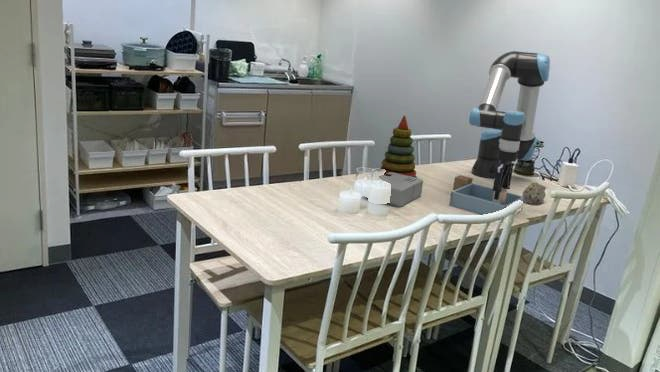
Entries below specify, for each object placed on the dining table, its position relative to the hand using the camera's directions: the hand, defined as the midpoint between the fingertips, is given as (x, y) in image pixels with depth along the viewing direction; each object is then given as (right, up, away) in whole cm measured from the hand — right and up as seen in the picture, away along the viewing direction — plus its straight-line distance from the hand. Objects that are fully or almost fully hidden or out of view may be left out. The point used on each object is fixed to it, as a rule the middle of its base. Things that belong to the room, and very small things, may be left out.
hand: (498, 205), depth 222 cm
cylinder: (0, -2, +1) cm, 2 cm away
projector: (-42, +3, +8) cm, 43 cm away
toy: (-37, +12, +37) cm, 54 cm away
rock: (+21, +1, +17) cm, 27 cm away
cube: (-9, +6, +26) cm, 28 cm away
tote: (-4, -1, +4) cm, 6 cm away
